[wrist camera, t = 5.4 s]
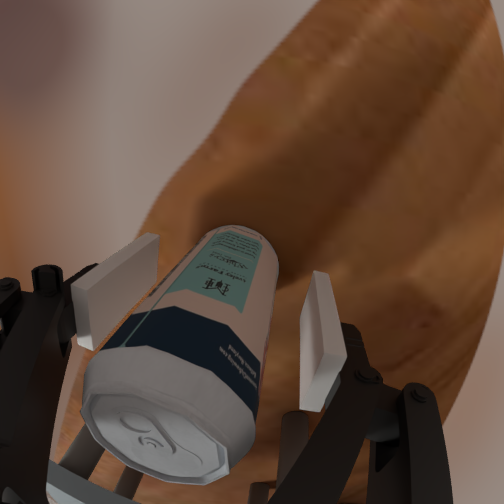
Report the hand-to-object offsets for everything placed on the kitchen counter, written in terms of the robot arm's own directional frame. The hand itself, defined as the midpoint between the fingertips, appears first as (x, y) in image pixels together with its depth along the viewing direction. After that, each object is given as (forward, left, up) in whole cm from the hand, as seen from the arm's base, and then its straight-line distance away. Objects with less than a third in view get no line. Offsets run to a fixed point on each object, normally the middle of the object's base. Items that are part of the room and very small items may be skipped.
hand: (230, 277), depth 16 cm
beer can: (0, 0, -2) cm, 2 cm away
